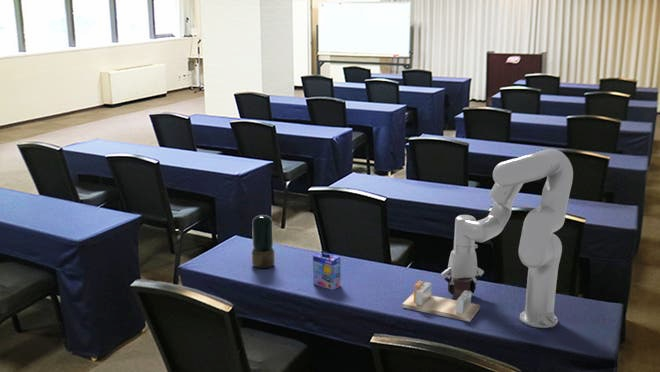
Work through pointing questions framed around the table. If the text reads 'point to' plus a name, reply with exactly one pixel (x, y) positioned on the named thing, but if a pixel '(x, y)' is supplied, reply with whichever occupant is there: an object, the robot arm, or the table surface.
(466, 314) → the vise base
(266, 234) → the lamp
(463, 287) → the box
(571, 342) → the table surface
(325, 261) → the ink cartridge box
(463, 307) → the fixed jaw
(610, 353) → the table surface
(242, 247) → the table surface
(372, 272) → the table surface
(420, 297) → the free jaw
